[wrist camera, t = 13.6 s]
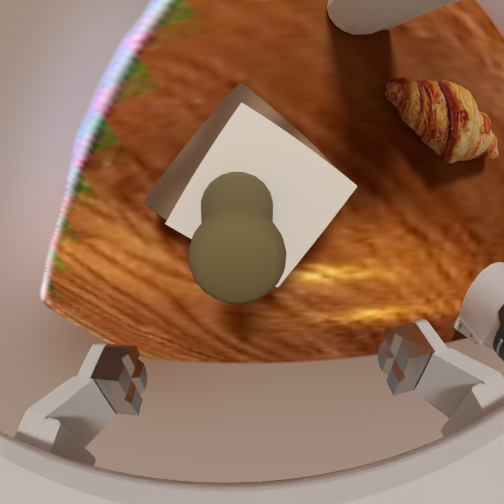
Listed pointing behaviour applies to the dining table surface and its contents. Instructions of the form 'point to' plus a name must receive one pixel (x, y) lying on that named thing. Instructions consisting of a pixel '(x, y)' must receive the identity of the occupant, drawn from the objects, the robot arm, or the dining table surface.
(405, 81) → the croissant
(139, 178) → the dining table surface
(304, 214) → the tower top block
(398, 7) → the paper towel roll
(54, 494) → the robot arm
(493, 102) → the dining table surface
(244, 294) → the olive green pawn
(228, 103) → the tower base block
